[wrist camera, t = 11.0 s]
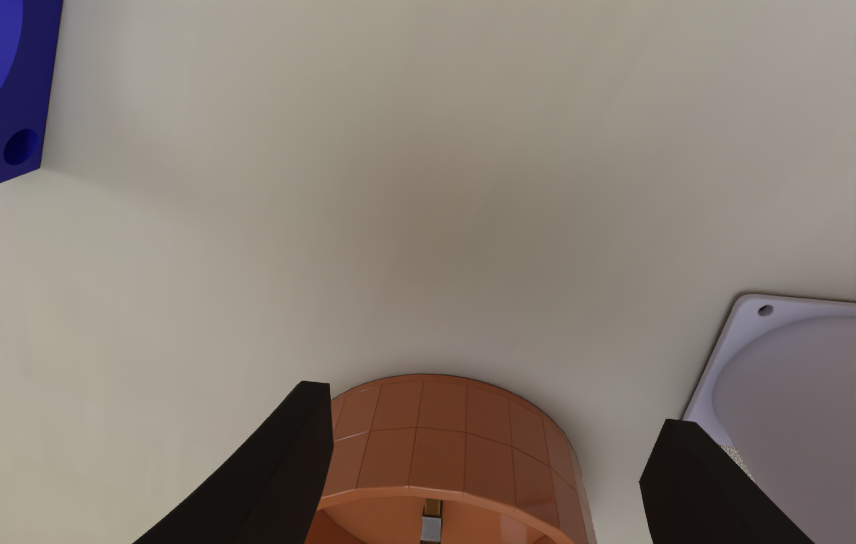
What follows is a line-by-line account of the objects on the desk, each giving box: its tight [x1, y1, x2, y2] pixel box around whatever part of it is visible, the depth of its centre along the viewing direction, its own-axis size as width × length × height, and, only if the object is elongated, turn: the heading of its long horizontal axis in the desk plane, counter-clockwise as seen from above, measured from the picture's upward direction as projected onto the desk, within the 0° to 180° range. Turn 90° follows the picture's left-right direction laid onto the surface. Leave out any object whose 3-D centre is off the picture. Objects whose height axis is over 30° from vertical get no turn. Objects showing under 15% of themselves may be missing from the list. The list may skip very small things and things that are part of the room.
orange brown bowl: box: [304, 374, 597, 544], centre depth 23 cm, size 15×15×6 cm
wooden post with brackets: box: [420, 498, 443, 544], centre depth 24 cm, size 2×8×4 cm, turn 179°
